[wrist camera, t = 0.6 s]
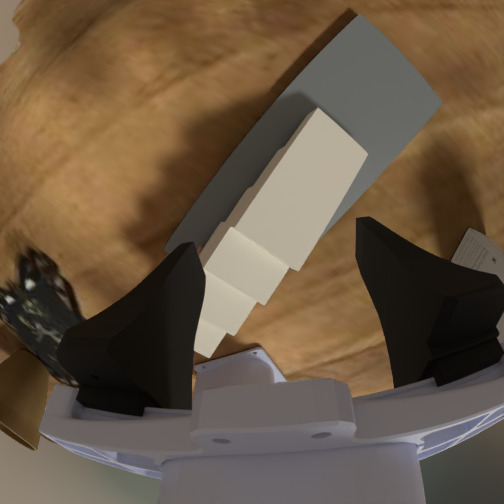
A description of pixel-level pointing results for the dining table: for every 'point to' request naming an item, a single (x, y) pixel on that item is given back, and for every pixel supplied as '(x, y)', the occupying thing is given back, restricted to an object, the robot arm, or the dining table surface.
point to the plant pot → (23, 397)
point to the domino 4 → (301, 190)
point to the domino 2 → (245, 259)
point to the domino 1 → (207, 332)
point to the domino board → (338, 109)
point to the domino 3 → (225, 295)
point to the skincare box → (481, 260)
